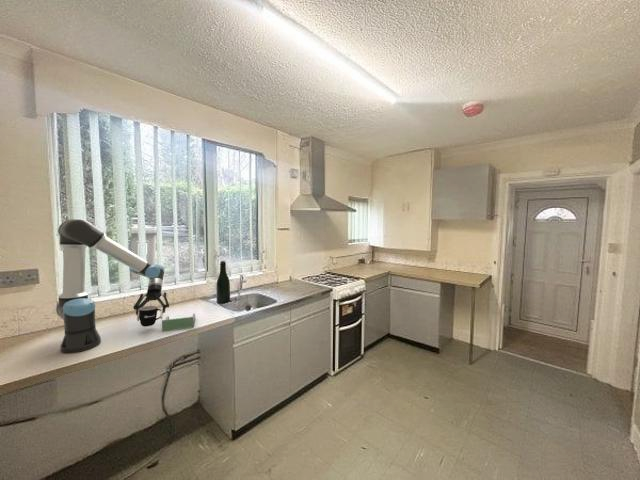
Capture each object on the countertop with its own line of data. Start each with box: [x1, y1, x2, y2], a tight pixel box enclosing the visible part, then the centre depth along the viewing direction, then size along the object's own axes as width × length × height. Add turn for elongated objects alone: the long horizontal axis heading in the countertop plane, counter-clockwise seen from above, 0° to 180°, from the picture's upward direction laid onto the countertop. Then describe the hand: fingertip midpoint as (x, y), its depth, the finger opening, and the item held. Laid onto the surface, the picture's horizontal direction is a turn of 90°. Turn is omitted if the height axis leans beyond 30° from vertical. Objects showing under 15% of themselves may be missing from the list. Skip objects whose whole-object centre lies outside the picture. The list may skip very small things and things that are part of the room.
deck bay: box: [161, 313, 196, 332], centre depth 162 cm, size 16×16×6 cm
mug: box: [139, 305, 161, 328], centre depth 155 cm, size 12×9×10 cm
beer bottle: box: [215, 260, 231, 304], centre depth 209 cm, size 10×10×33 cm
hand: (149, 318), depth 152 cm, fingers closed on mug, 11 cm apart
